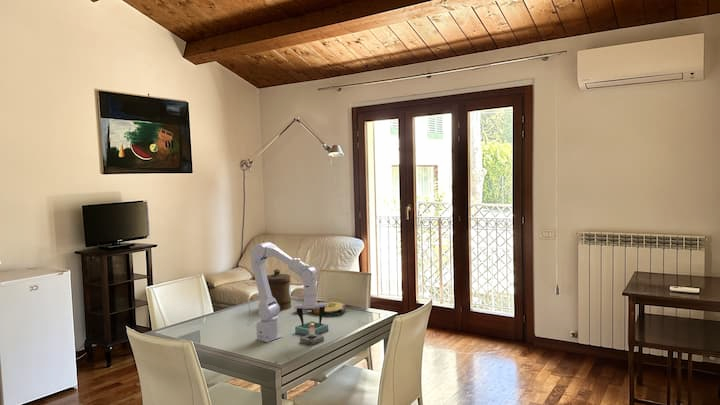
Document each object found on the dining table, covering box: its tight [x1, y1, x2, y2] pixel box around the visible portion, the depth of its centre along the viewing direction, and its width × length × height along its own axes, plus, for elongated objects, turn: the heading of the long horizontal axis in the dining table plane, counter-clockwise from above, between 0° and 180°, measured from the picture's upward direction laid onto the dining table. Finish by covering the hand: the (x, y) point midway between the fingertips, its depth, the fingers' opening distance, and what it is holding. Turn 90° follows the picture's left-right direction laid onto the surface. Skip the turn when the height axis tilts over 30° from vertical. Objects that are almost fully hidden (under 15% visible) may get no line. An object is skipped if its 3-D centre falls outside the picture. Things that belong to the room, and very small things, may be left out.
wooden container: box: [266, 268, 292, 311], centre depth 280 cm, size 15×15×22 cm
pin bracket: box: [299, 334, 325, 346], centre depth 219 cm, size 8×8×2 cm
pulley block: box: [303, 301, 351, 317], centre depth 267 cm, size 14×6×30 cm
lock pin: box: [308, 323, 315, 339], centre depth 219 cm, size 3×3×8 cm
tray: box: [294, 320, 329, 336], centre depth 233 cm, size 11×11×3 cm
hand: (311, 324), depth 218 cm, fingers open, 7 cm apart
